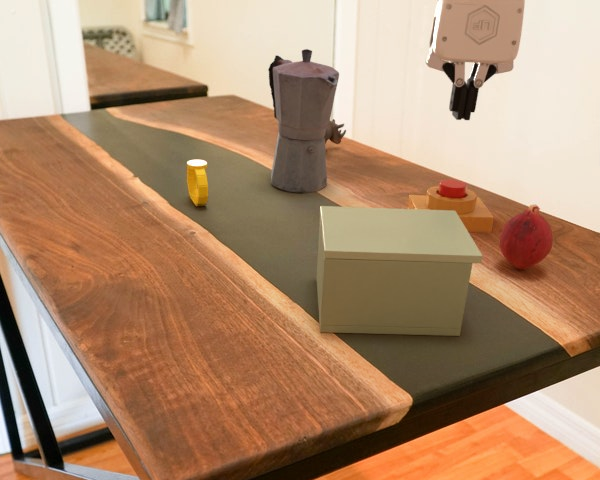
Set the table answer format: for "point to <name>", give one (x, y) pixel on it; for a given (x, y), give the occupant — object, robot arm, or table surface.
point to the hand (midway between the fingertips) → (460, 117)
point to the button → (452, 189)
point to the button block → (456, 208)
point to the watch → (197, 181)
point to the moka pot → (301, 121)
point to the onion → (526, 238)
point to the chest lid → (396, 235)
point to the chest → (390, 295)
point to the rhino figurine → (334, 132)
